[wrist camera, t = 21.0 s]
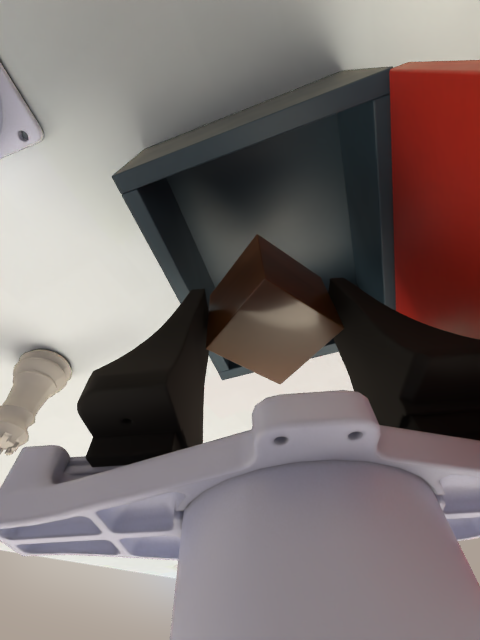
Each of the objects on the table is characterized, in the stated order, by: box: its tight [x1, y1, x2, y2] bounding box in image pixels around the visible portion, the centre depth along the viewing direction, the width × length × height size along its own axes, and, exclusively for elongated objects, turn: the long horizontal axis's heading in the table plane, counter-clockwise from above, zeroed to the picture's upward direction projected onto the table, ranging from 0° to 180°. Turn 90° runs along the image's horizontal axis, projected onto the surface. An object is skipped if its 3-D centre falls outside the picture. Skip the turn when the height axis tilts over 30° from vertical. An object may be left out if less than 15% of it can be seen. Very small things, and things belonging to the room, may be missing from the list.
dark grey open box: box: [112, 67, 396, 380], centre depth 19 cm, size 12×14×6 cm
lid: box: [389, 60, 480, 340], centre depth 10 cm, size 12×14×1 cm
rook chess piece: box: [0, 350, 72, 455], centre depth 25 cm, size 4×4×8 cm
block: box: [206, 234, 344, 384], centre depth 14 cm, size 4×4×4 cm
